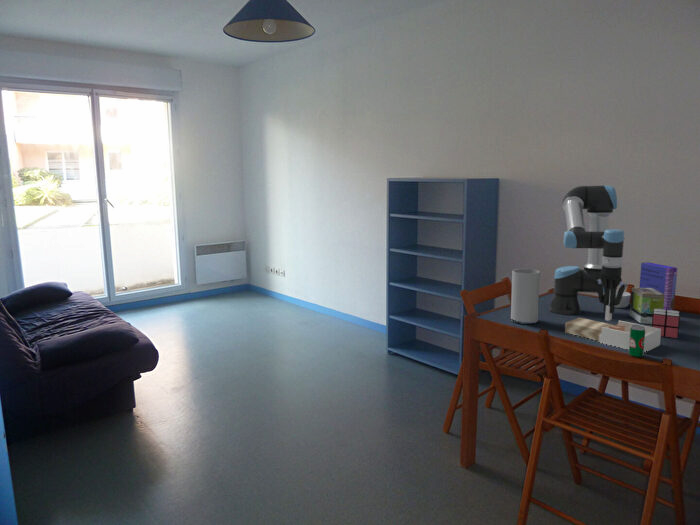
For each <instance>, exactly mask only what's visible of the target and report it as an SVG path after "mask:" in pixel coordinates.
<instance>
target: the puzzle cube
mask: <svg viewBox="0 0 700 525" xmlns="http://www.w3.org/2000/svg"><path fill="white" fill-rule="evenodd" d="M680 320H681V314H680V311H678V310H674V311H672V310H667V311H666V310H662V309H653V317H652V324H651V327H654V328H659V329H661V338H668V337H670V338H671V339H676V338H678V339H679V333H680ZM670 338H669V339H670Z"/></svg>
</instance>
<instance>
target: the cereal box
mask: <svg viewBox="0 0 700 525" xmlns="http://www.w3.org/2000/svg"><path fill="white" fill-rule="evenodd" d="M639 277H640V278H639V286H638V288H653V289H655V290H657V291H659V292H661V293H663V294H665V298H664V308H663V310H666V311H667V310H672V311H675V300H676V291H677V277H678V267H674V266H669V265H664V264H660V263H659V264H658V263H654V262H641V264H640V276H639Z"/></svg>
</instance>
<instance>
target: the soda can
mask: <svg viewBox="0 0 700 525" xmlns="http://www.w3.org/2000/svg"><path fill="white" fill-rule="evenodd" d="M642 325H643V324H640V325H632V327H631V328H630V341H629V350H628V354H629V356H630V355H631V357H633V356H635V357H634V358H642V357H643V356H644V354H645V353H644V341H645V328H644V326H642Z"/></svg>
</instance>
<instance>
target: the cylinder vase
mask: <svg viewBox="0 0 700 525" xmlns="http://www.w3.org/2000/svg"><path fill="white" fill-rule="evenodd" d="M511 273H512V274H511V301H510V302H511V305H510V307H511V308H510V320H511V319H513V320H516V321H521V322H537V323H538V322H539V299H540V298H539V296H540V274H541V272H540V270H538V269H532V268H531V269H530V268H516V269H513V270H512V271H511Z"/></svg>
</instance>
